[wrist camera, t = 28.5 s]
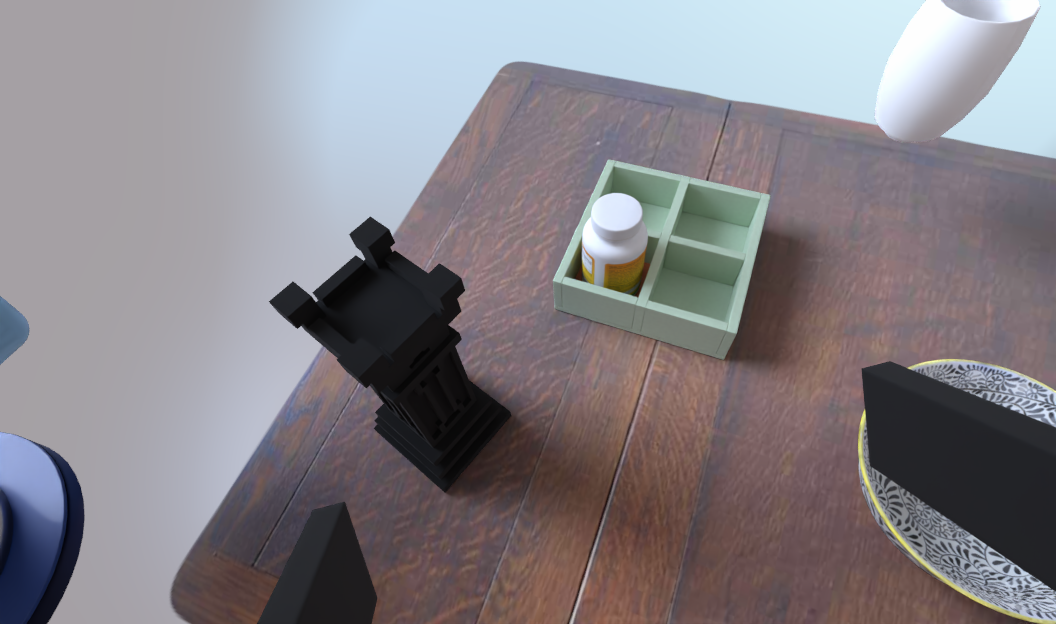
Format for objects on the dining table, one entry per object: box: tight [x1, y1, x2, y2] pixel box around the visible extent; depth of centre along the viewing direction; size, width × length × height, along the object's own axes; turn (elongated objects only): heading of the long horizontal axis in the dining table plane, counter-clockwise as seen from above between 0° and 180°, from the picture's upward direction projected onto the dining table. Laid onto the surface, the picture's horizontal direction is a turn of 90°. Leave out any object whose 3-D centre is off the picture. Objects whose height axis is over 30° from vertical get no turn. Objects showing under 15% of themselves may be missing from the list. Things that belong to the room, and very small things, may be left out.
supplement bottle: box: [582, 193, 648, 296], centre depth 47 cm, size 5×5×10 cm
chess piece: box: [269, 217, 511, 492], centre depth 37 cm, size 8×8×20 cm
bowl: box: [858, 359, 1056, 624], centre depth 36 cm, size 16×16×8 cm
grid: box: [553, 160, 770, 360], centre depth 50 cm, size 15×15×5 cm
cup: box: [875, 0, 1040, 143], centre depth 45 cm, size 7×7×21 cm
